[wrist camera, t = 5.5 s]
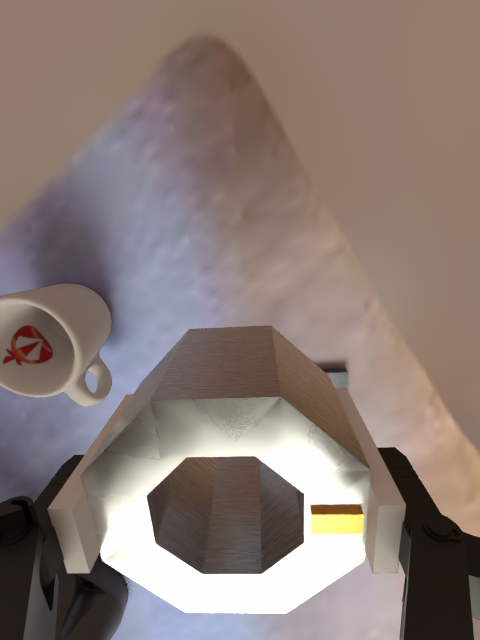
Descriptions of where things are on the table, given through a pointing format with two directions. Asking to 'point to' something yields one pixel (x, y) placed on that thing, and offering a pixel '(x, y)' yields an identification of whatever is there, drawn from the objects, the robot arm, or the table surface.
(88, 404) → the cup
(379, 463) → the robot arm
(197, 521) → the ring
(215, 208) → the table surface
